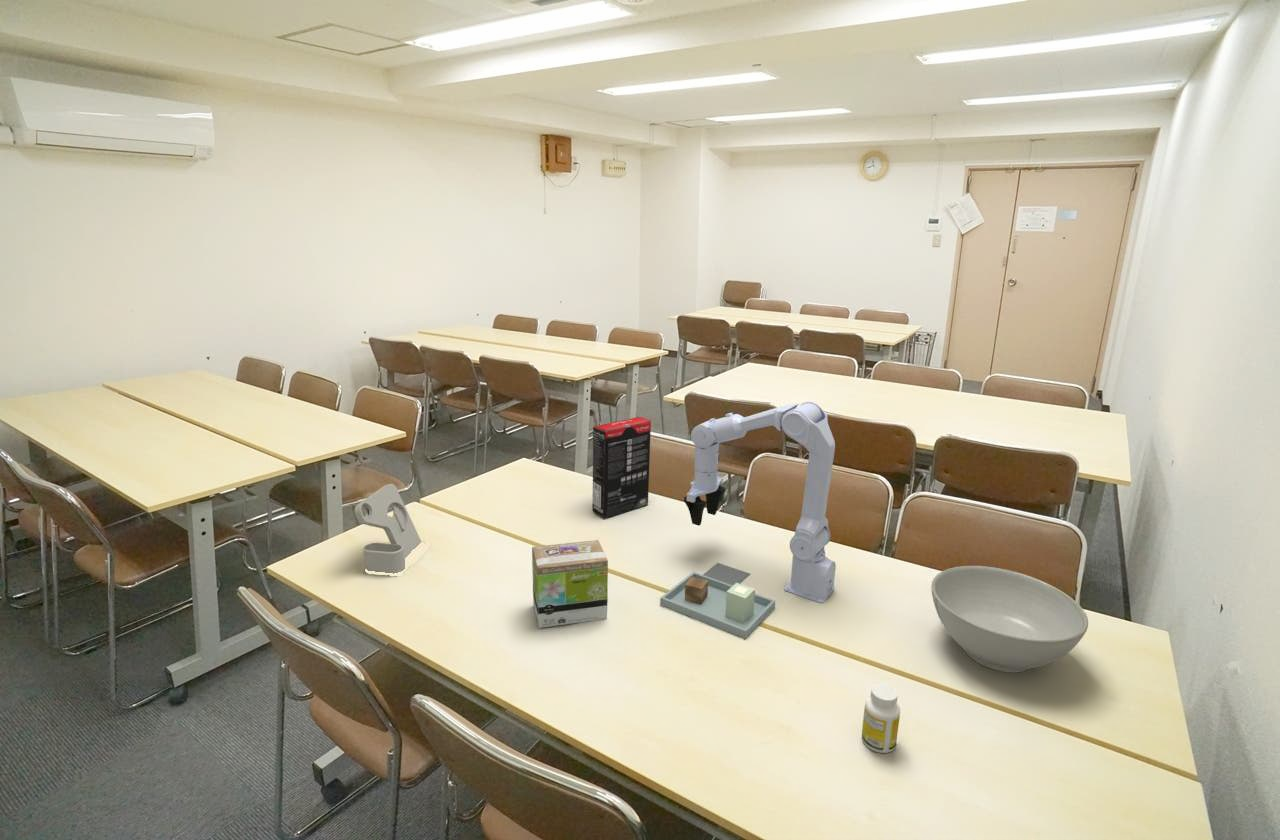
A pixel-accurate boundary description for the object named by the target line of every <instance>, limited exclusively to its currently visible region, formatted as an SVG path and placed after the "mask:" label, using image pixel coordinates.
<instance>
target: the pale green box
mask: <svg viewBox="0 0 1280 840" xmlns="http://www.w3.org/2000/svg"><path fill="white" fill-rule="evenodd" d="M755 594H756V589H755V588H754V587H751V586H750V587H749V586H747V585H744V584H741V583H740V584H739V583H736V584H734V585H733V586H732V587H731V588H730V589H729V590H728V591H727V594H726V613H725V616H727V617H730V618H732V619H735V620H737V621H740V622H742V623H745V622H746V621H747V620H748V618H749V617H750V616H751V615H752V614H753V613H754V598H755Z"/></svg>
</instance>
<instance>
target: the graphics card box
mask: <svg viewBox="0 0 1280 840" xmlns="http://www.w3.org/2000/svg"><path fill="white" fill-rule="evenodd" d="M651 421H652V420H650V419H649V418H646V417H642V416H636V417H632V418H628V419H623V420H622V419H621V420H618V421H617V420H616V421H613V422H609V423H608V422H607V423H604V424H599V425H593V426H592V428H593V429H592V433H593V434H592V512H593V513H595V514H597V515H598V516H600V517H602V518H603V519H607V518H610V517H613V516H616V515H619V514H622V513H626V512H629V511H632V510H636V509H640V508H643V507H646V506H648V505H649V489H650V487H649V484H650V482H649V481H650V460H651V459H650V456H651V455H650V454H651V453H650V452H651V433H652V431H651V430H652V429H651V427H652V422H651Z"/></svg>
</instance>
